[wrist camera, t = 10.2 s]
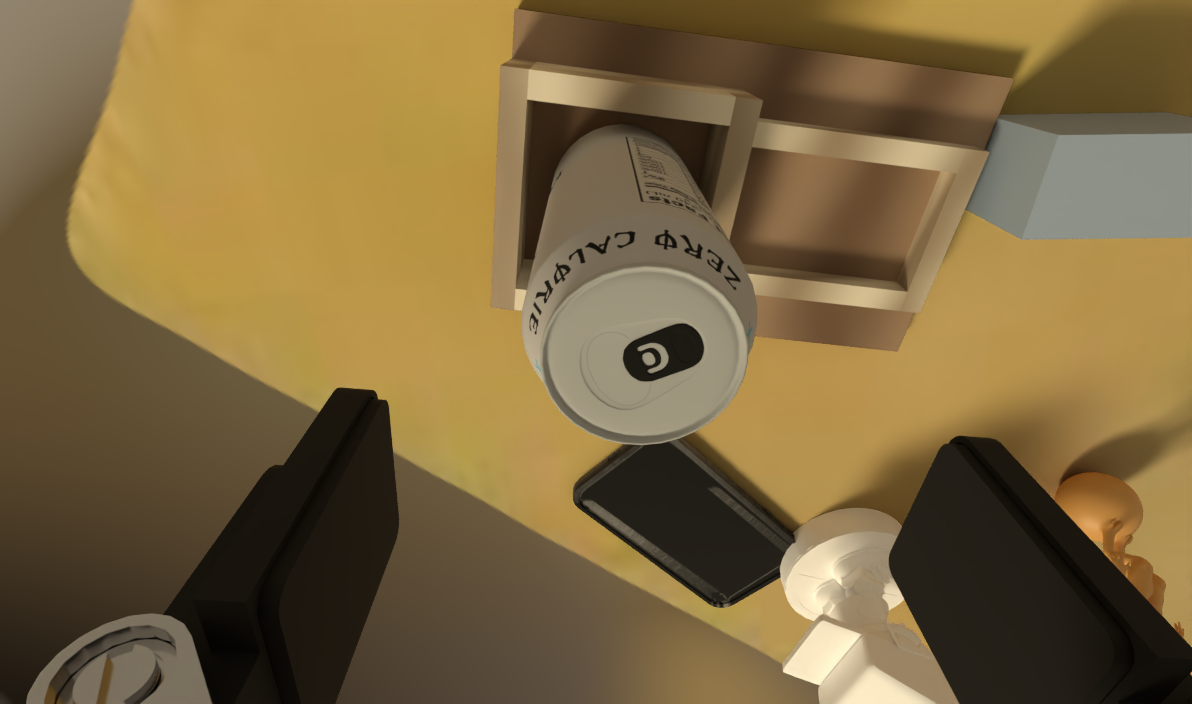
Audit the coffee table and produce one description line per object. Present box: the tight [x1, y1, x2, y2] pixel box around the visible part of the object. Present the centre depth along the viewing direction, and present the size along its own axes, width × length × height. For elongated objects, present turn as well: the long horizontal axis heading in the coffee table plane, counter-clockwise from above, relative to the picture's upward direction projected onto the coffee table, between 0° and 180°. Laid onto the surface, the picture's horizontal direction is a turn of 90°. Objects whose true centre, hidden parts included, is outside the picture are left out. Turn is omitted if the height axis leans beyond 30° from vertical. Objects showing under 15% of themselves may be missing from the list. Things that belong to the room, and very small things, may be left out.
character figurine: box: [780, 508, 959, 704], centre depth 35 cm, size 9×10×12 cm
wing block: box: [965, 112, 1192, 240], centre depth 25 cm, size 8×4×5 cm, turn 91°
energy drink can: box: [522, 124, 757, 445], centre depth 20 cm, size 6×6×15 cm
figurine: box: [1055, 472, 1192, 675], centre depth 32 cm, size 8×6×12 cm
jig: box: [491, 9, 1014, 352], centre depth 26 cm, size 20×13×4 cm, turn 83°
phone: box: [573, 438, 796, 608], centre depth 38 cm, size 8×1×15 cm
